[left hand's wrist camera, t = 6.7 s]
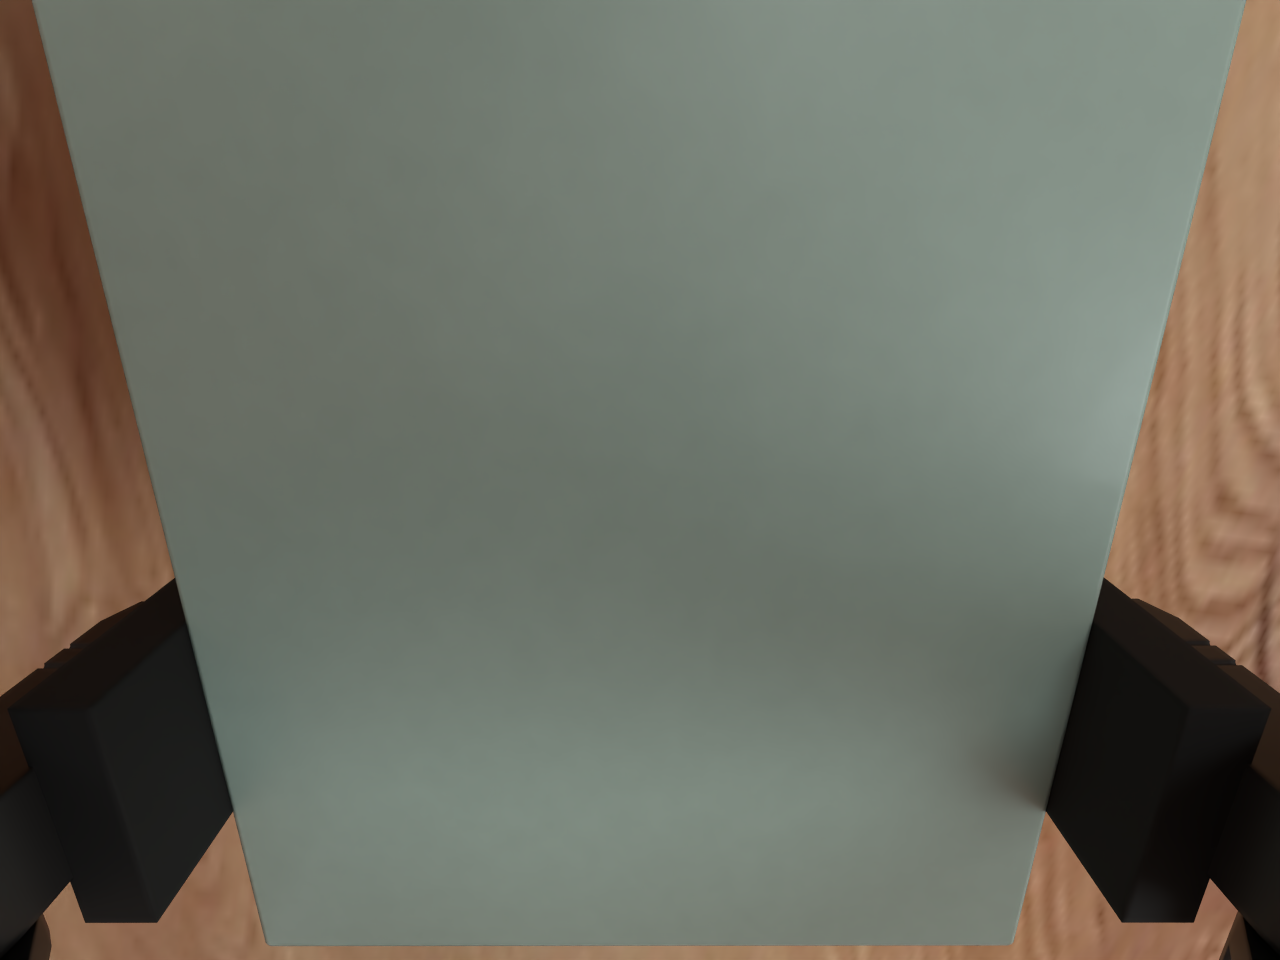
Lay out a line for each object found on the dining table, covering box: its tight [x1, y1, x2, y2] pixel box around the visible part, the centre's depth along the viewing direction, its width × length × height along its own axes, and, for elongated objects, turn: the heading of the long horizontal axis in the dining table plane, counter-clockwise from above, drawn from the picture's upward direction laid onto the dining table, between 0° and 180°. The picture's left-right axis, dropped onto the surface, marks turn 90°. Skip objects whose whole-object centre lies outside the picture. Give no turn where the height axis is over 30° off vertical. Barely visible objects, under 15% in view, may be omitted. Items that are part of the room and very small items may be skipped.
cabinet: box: [32, 0, 1246, 946], centre depth 12 cm, size 17×10×11 cm, turn 0°
